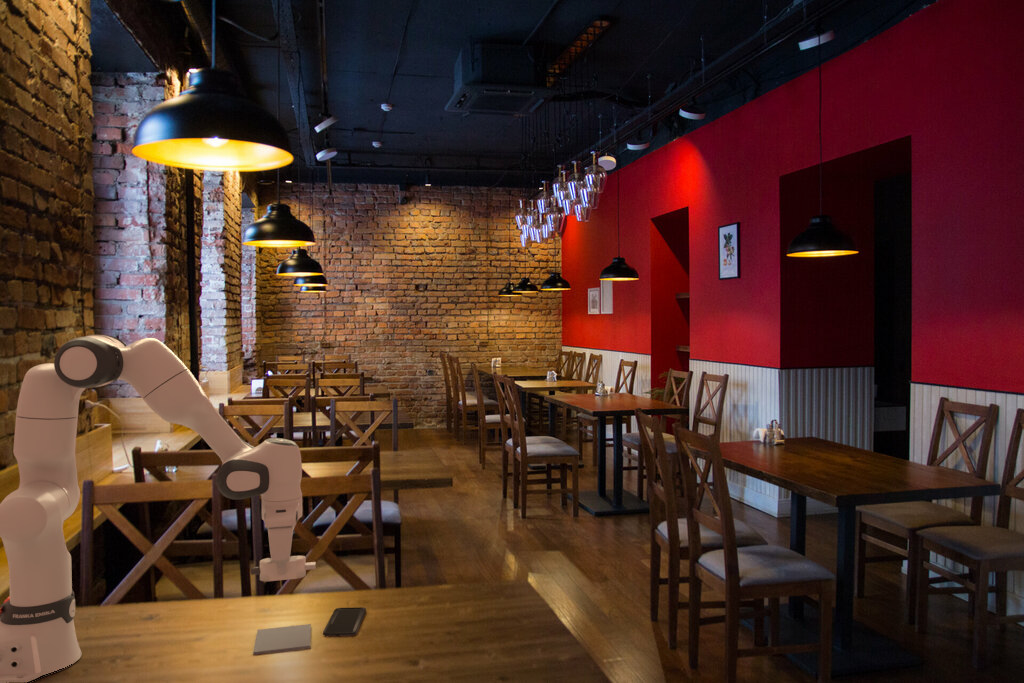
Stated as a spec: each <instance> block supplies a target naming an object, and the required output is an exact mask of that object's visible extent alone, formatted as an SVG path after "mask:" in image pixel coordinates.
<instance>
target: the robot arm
mask: <svg viewBox="0 0 1024 683" xmlns="http://www.w3.org/2000/svg"><path fill="white" fill-rule="evenodd" d="M53 360H54V361H53V363H52V362H51V363H50V362H48V363H42V364H38V365H35V366H33V367H31V368H30V369H28V371H27V372H25V375H24V377H23V381H22V383H21V387H20V390H19V395H18V398H17V407H16V415H15V424H14V425H15V426H14V438H13V447H12V449H13V456H14V457H15V460H16V461H17V467H18V468H17V469H18V472H19V486H18V488H17V489H16V490H14V491H12V492H10V493H9V494H8V495H6V496H5V497H4V499H3V500H2V501H1V502H0V538H1V541H2V544H3V548H4V552H5V554H6V555H5V556H6V559H7V564H8V576H9V578H8V579H9V580H8V581H9V582H8V583H9V585H8V586H9V596H8V597H7V598H6V599H5V600H4V601H3V604H1V605H0V683H6V682H7V683H9V682H28V681H31V680H33V679H36V678H38V677H40V676H42V675H45V674H48V673H51V672H54V671H57V670H59V669H62V668H64V669H66V668H68V667H70V666H72V665H73V664H75V663H76V662H77V661H78V660H80V658H81V657H82V654H83V653H82V650H81V648H80V644H79V642H78V641H79V640H78V638H77V633H76V628H75V622H74V618H75V615H76V614H75V613H76V598H75V592H74V590H73V588H72V587H73V583H72V582H73V581H72V577H73V576H72V555H71V553H70V552H69V551H68V548H67V544H66V540H65V536H64V530H63V529H64V528H63V527H64V522H65V521H66V520H67V519H68V518H70V517H71V516H72V515H73V514H74V512H75V511H76V509H77V507H78V505H79V502H80V499H81V490H80V486H79V483H78V481H79V480H78V468H77V458H76V444H77V432H78V422H79V421H78V419H79V406H80V400H81V396H82V394H83V393H84V391H85V390H86V389H91V388H98V387H104V386H106V385H108V384H111V383H113V382H116V381H124V382H125V383H127V384H129V385H130V386H131V387H132V388H133V389H134V390H135V391H136V393H138V395H139V396H140V398H141V399H142V400H143V401H144V403H146V405H147V406H148V408H150V409H151V410H152V411H153V412H154V413H155V414H156V415H158V416H159V417H160V418H161V419H162V420H164V421H166V422H167V423H171V424H176V425H179V426H183V427H186V428H189V429H191V430H192V431H194V432H195V433H197V434H198V435H199V436H200V437H201V439H202V440H203V441H204V442H205V443H206V444H207V445H208V446H209V447H210V449H211V450H212V451H213V452H214V453H215V454H216V455H217V456H218V457H219V459H220V461H221V462H222V464H221V466H220V467H219V468H218V470H217V471H216V474H215V485H216V488H217V489H218V491H219V492H220V494H221V495H222V496H224V497H225V498H226V499H231V500H237V501H238V500H244V499H248V498H253V497H257V496H260V497H261V520H263V522H264V525H265V528H266V529H267V533H268V534H267V535H268V543H269V552H270V553H269V554H270V558H271V559H272V562H273V563H277V567H278V575H285V574H286V563H287V562H288V561H289V559H290V556H291V551H292V544H293V543H292V542H293V533H294V529H295V527H296V526H297V522H298V521H299V520H300V518H302V517H303V493H302V490H301V481H302V478H303V465H302V454H301V450H300V447H299V445H298V444H297V443H296V442H295V441H293V440H290V439H286V438H280V437H271V438H267V439H265V440H264V441H262V442H261V443H260V444H258V445H257V446H253V445H251V444H249V443H248V442H246V441H245V440H243V438H241V437H240V435H239V434H238V433H237V432H236V431H235V430H234V428H232V425H230V424H229V423H228V422H227V420H225V418H224V417H223V416H222V415H221V414H220V412H218V410H217V409H216V408H215V406H214V404H213V403H212V402H211V399H209V397H208V396H207V394H206V392H205V390H204V389H203V387H202V385H201V384H200V383H199V381H198V380H197V379H196V377H195V375H194V374H193V373H192V371H190V369H189V368H188V367H187V366H186V364H185V363H184V362H183V361H182V359H180V358H179V357H178V355H176V353H175V352H173V351H172V350H171V349H170V348H169V347H168V345H165V344H164V343H163V342H162V341H161V340H159V339H158V338H154V337H144V338H142V339H137V340H135V341H133V342H132V343H130V344H128V345H127V343H126V342H124V341H123V340H121V339H119V338H118V337H116V336H112V335H108V334H107V335H106V334H105V335H104V334H103V335H102V334H88V335H85V336H79V337H75V338H72V339H70V340H68V341H67V342H65V343H64V344H62V345H61V347H59V348H58V350H57V351H56V353H55V355H54V359H53ZM71 664H72V665H71ZM69 665H70V666H69ZM67 666H68V667H67ZM65 667H66V668H65ZM62 670H63V669H62ZM59 671H60V670H59ZM57 672H58V671H57ZM54 673H55V672H54ZM51 674H52V673H51ZM48 675H49V674H48ZM45 676H46V675H45Z"/></svg>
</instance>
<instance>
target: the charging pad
mask: <svg viewBox="0 0 1024 683" xmlns="http://www.w3.org/2000/svg"><path fill="white" fill-rule="evenodd" d="M311 627H312V626H311V623H309V624H308V623H307V624H306V623H305V624H298V625H288V626H280V627H279V626H278V627H272V628H271V627H270V628H269V627H268V628H261V629H257V630H256V637H255V640H254V645H253V646H254V647H253V652H252V653H253V654H252V655H253V656H254V655H255V656H256V655H263V654H272V653H281V652H291V651H298V650H308V649H311V637H312V636H311V634H312V632H311V630H312V629H311Z"/></svg>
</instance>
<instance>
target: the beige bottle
mask: <svg viewBox="0 0 1024 683" xmlns="http://www.w3.org/2000/svg"><path fill="white" fill-rule="evenodd" d="M306 558H307V557H306V556H305V555H290V559H289V561H288V562H287V563H286V574H285V575H278V567H277V563H273V562H272V559H271V557H266V558H263V559H261V560H259V566H253V567H250V575H251V576H253V575H254V576H255V575H259V581H261V582H275V581H277V582H278V581H284V580H285V581H286V580H297V579H301V578H305V577H306V575H307V574H306V573H307V570H316V569H317V567H316V561H311V562H310V561H309V562H306V561H307V560H306Z"/></svg>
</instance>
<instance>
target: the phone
mask: <svg viewBox="0 0 1024 683" xmlns="http://www.w3.org/2000/svg"><path fill="white" fill-rule="evenodd" d="M366 613H367V608H366V607H363V606H362V607H358V606H357V607H337V608H335V609H334V611H332V614H331V616H330V618H329V619H328V622H327V623H326V625H325V627H324V629H323V631H322V635H325V636H324V637H326V636H331V637H337V636H339V637H354V636H357V635H358V632H359V630H360V628H361V624H362V623H361V622H363V620H364V618H365V616H366ZM353 635H354V636H353Z"/></svg>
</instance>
